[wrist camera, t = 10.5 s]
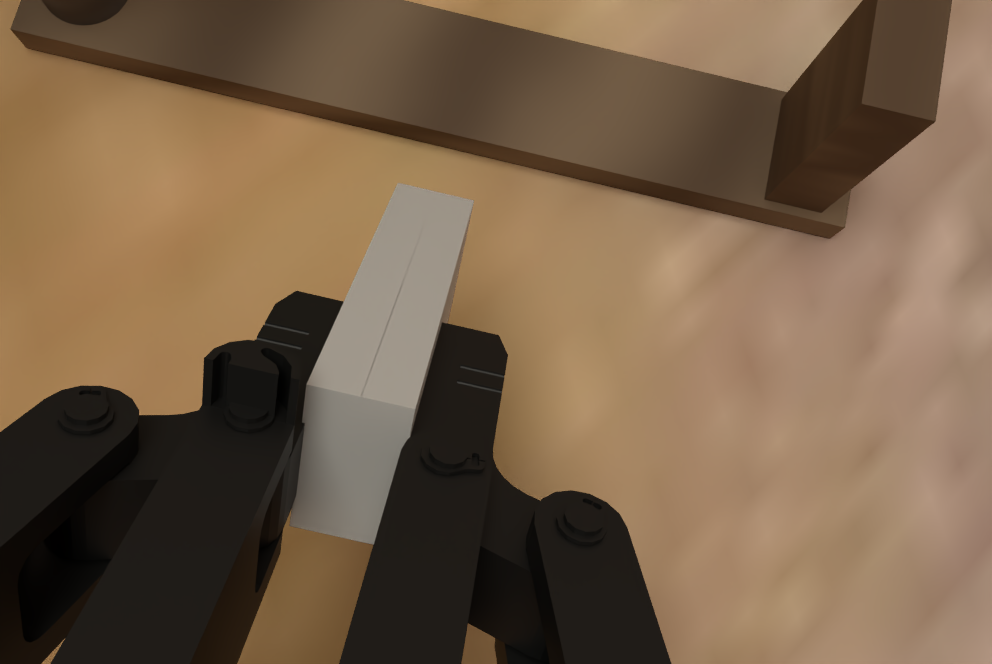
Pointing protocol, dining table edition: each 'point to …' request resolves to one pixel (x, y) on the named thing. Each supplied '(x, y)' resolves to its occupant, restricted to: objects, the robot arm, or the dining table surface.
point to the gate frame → (544, 92)
